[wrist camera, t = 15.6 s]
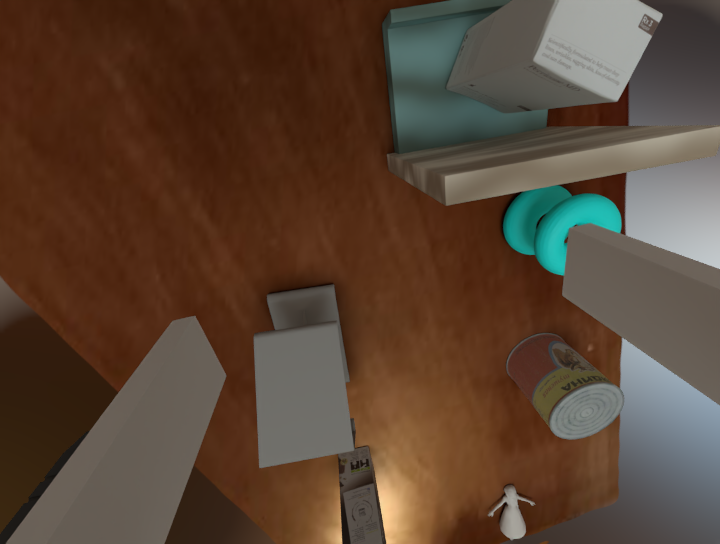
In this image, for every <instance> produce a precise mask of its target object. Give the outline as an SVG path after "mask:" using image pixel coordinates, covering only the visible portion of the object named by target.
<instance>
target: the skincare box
mask: <svg viewBox="0 0 720 544" xmlns="http://www.w3.org/2000/svg"><path fill="white" fill-rule="evenodd" d="M661 18H662V13H660V12H658V11H656V10H655V9H652V8H651V7H649V6H647V5H645V4H644V3H642V2H640V1H639V0H512V1H510V2H509V3H507V4H506V5H504V6H503V7H501V8H500V9H498V10H497V11H495V12H494V13H492V14H491V15H489V16H488V17H486V18H485V19H483V20H481V21H480V22H478V23H477V24H475V25H474V26H472V27H471V28H469V29H468V30H467V32H466V34H465V37H464V40H463V42H462V45H461V48H460V51H459V53H458V56H457V59H456V62H455V64H454V67H453V70H452V72H451V75H450V78H449V81H448V83H447V86H446V89H447V90H450V91H452V92H456V93H459V94H462V95H465V96H467V97H470V98H472V99H475V100H477V101H479V102H481V103H484V104H486V105H488V106H490V107H492V108H494V109H496V110H498V111H500V112H502V113H505V114H506V113H517V112H525V111H534V110H543V109H553V108H561V107H568V106H576V105H585V104H596V103H605V102H616V101H618V99H619V97H620V95H621V94H622V92H623V90H624V88H625V86H626V85H627V83H628V81H629V79H630V77H631V75H632V73H633V71H634V69H635V67H636V65H637V64H638V62H639V60H640V58H641V56H642V54H643V52H644V50H645V48H646V47H647V45H648V43H649V41H650V39H651V37H652V35H653V33H654V31H655V29H656V27H657V25H658V23H659V22H660V20H661Z"/></svg>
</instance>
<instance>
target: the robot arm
mask: <svg viewBox="0 0 720 544" xmlns="http://www.w3.org/2000/svg"><path fill="white" fill-rule="evenodd" d="M562 296H564V297H565V298H567V299H568V300H569V301H571V302H572V303H574V304H575V305H577V306H578V307H580V308H581V309H582V310H584V311H585V312H587V313H588V314H590V315H591V316H592V317H594V318H595V319H597V320H598V321H600V322H601V323H602V324H604V325H605V326H607V327H608V328H610V329H611V330H613V331H614V332H615V333H617V334H618V335H620V336H621V337H623V338H624V339H626V340H627V341H628V342H630V343H631V344H633V345H634V346H636V347H637V348H638V349H640V350H641V351H643V352H644V353H646V354H647V355H648V356H650V357H651V358H653V359H654V360H656V361H657V362H659V363H660V364H661V365H663V366H664V367H666V368H667V369H669V370H670V371H672V372H673V373H674V374H676V375H677V376H679V377H680V378H682V379H683V380H684V381H686V382H687V383H689V384H690V385H691V386H693V387H694V388H696V389H697V390H699V391H700V392H702V393H703V394H704V395H706V396H707V397H709V398H710V399H712V400H713V401H714V402H716V403H717V404H719V405H720V269H717V268H715V267H712V266H709V265H706V264H704V263H701V262H698V261H695V260H693V259H690V258H687V257H684V256H681V255H679V254H676V253H673V252H670V251H667V250H664V249H662V248H659V247H656V246H653V245H651V244H648V243H645V242H642V241H639V240H636V239H633V238H631V237H628V236H625V235H623V234H620V233H617V232H614V231H611V230H609V229H606V228H603V227H600V226H597V225H595V224H592V223H588V224H584V225H579V226H575V227H571V228H569V234H568V243H567V253H566V262H565V272H564V282H563V291H562ZM225 378H226V374H225V372H224V370H223V368H222V366H221V364H220V362H219V361H218V359H217V357H216V355H215V353H214V351H213V349H212V347H211V345H210V343H209V341H208V340H207V338H206V336H205V334H204V332H203V330H202V328H201V326H200V324H199V322H198V320H197V319H196V317H195V316H192V317H187V318H183V319H179V320H175V321H172V322H171V324H170V325H169V326H168V328H167V329H166V330H165V332H164V333H163V334H162V336H161V337H160V338H159V340H158V341H157V342H156V344H155V345H154V346H153V348H152V349H151V350H150V352H149V353H148V354H147V356H146V357H145V358H144V360H143V361H142V362H141V364H140V365H139V366H138V368H137V369H136V370H135V372H134V373H133V374H132V376H131V377H130V378H129V380H128V381H127V382H126V384H125V385H124V386H123V388H122V389H121V390H120V392H119V393H118V394H117V396H116V397H115V398H114V400H113V401H112V402H111V404H110V405H109V407H108V408H107V409H106V411H105V412H104V413H103V414H102V416H101V417H100V419H99V420H98V421H97V422H96V424H95V425H94V427H93V428H92V429H91V431H88V432H86V433H85V434H84V435H83V436H82V437H81V438H79V439H78V440H77V441H76V442H75V443H74V444H73V445H72V446H71V447H70V448H69V449H68V450H66V451H65V452H64V453H63V454H62V456H61V457H60V458H59V459H58V461H57V462H56V463H55V465H54V466H53V467H52V469H51V470H50V471H49V472H48V474H47V475H46V476H45V481H44V482H41V483H40V484H39V485H38V486H37V488H36V489H35V490H34V492H33V493H32V494H31V495H30V497H29V501H28V503H25V504H23V506H22V507H21V508H20V510H19V511H18V512H17V513H16V515H15V516H14V517H13V518H12V520H11V521H10V522H9V524H8V525H7V526H6V527H5V529H4V530H3V531H2V533H1V534H0V544H164V543H165V540H166V538H167V535H168V532H169V530H170V527H171V524H172V521H173V519H174V516H175V513H176V511H177V508H178V505H179V503H180V500H181V497H182V494H183V491H184V489H185V486H186V484H187V481H188V478H189V476H190V473H191V470H192V467H193V465H194V462H195V459H196V457H197V454H198V451H199V448H200V446H201V443H202V440H203V438H204V435H205V432H206V430H207V427H208V424H209V421H210V419H211V416H212V413H213V411H214V408H215V405H216V403H217V400H218V397H219V394H220V392H221V389H222V386H223V384H224V381H225Z"/></svg>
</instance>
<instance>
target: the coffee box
mask: <svg viewBox="0 0 720 544" xmlns="http://www.w3.org/2000/svg"><path fill="white" fill-rule="evenodd" d="M338 460H339V481H340V501H341V522H342V543H343V544H386V539H385V533H384V527H383V520H382V514H381V508H380V502H379V496H378V490H377V484H376V478H375V472H374V467H373V463H372V459H371V455H370V450H369V447H368V446H366V447H361V448H356V449H354V451H350V452H344V453H339V454H338Z"/></svg>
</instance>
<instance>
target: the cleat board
mask: <svg viewBox="0 0 720 544" xmlns="http://www.w3.org/2000/svg"><path fill="white" fill-rule="evenodd" d="M510 1H512V0H450V1H444V2H437V3H431V4H425V5H418V6H412V7H406V8H400V9H393V10H390V11H389V13H388V15H387V17H386V18H385V20H384V22H383V23H382V31H383V41H384V51H385V61H386V71H387V81H388V91H389V101H390V111H391V121H392V131H393V141H394V151H395V153H391V154H387V160H388V169H389V171H390V172H392V173H393V174H395V175H397V176H398V177H400V178H401V179H403V180H405V181H406V182H408V183H410V184H411V185H413V186H415V187H416V188H418V189H419V190H421V191H423V192H424V193H426V194H428V195H429V196H431V197H433V198H434V199H436V200H437V201H439V202H441V203H442V204H444V205H446V206H447V205H452V204H457V203H463V202H468V201H474V200H479V199H484V198H490V197H495V196H501V195H506V194H511V193H517V192H522V191H528V190H533V189H538V188H544V187H549V186H555V185H560V184H565V183H571V182H576V181H582V180H587V179H592V178H598V177H603V176H609V175H614V174H619V173H625V172H630V171H636V170H640V169H646V168H652V167H657V166H662V165H668V164H673V163H679V162H684V161H689V160H695V159H700V158H705V157H711V156H715V155H716V154H717V150H718V147H719V144H720V125H701V126H700V125H699V126H697V125H696V126H582V127H546V124H547V113H548V109H543V110H534V111H525V112H517V113H506V114H505V113H502V112H500V111H498V110H496V109H494V108H492V107H490V106H488V105H486V104H484V103H481V102H479V101H477V100H475V99H472V98H470V97H467V96H465V95H462V94H459V93H456V92H452V91H450V90H447V89H446V86H447V83H448V81H449V78H450V75H451V72H452V70H453V67H454V64H455V62H456V59H457V56H458V53H459V51H460V48H461V45H462V42H463V40H464V37H465V34H466V32H467V30H468V29H469V28H471V27H472V26H474V25H475V24H477V23H478V22H480V21H481V20H483V19H485V18H486V17H488V16H489V15H491V14H492V13H494V12H495V11H497V10H498V9H500V8H501V7H503V6H504V5H506V4H507V3H509V2H510Z"/></svg>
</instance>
